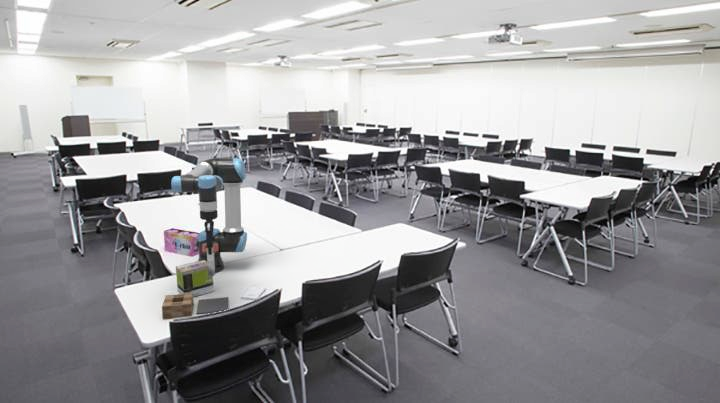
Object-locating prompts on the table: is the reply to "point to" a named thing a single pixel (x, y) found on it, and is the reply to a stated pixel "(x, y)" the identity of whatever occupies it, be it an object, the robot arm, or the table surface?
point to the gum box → (181, 242)
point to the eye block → (177, 306)
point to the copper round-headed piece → (210, 263)
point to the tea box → (194, 278)
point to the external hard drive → (253, 293)
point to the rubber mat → (212, 305)
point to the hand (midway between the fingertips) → (210, 257)
